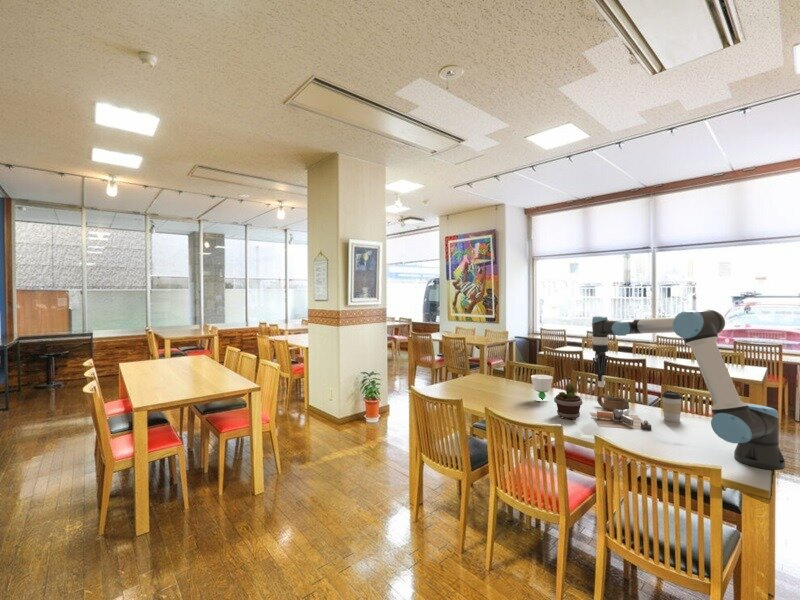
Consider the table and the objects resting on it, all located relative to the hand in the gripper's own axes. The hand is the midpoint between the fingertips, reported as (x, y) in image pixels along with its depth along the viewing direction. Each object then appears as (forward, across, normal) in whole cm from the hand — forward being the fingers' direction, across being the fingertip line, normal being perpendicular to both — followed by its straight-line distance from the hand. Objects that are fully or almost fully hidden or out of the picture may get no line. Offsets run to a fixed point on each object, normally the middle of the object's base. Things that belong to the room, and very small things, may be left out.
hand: (601, 386), depth 209 cm
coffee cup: (+19, -28, +24) cm, 41 cm away
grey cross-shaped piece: (+17, +1, +7) cm, 18 cm away
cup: (+18, -10, -43) cm, 48 cm away
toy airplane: (+18, 0, +9) cm, 20 cm away
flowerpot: (+19, +9, -14) cm, 25 cm away
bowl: (+19, -20, -3) cm, 27 cm away
